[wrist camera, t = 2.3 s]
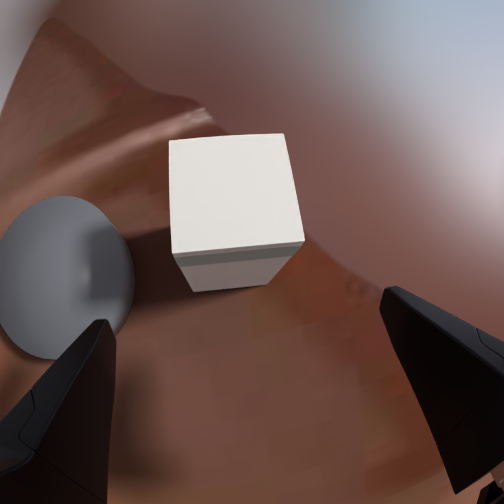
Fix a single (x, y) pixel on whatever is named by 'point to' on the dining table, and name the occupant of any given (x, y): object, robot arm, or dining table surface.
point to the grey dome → (62, 275)
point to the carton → (232, 209)
